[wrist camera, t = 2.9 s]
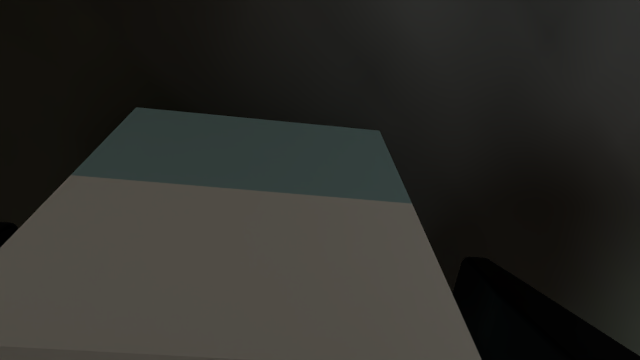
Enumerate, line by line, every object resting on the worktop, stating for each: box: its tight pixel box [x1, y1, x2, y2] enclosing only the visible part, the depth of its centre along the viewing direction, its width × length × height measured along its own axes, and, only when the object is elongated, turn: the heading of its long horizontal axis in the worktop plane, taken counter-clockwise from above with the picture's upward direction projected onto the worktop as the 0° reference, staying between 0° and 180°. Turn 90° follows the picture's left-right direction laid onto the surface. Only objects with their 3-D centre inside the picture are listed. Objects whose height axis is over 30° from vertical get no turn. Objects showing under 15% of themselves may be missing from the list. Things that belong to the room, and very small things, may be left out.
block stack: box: [0, 107, 482, 360], centre depth 8 cm, size 4×4×6 cm
